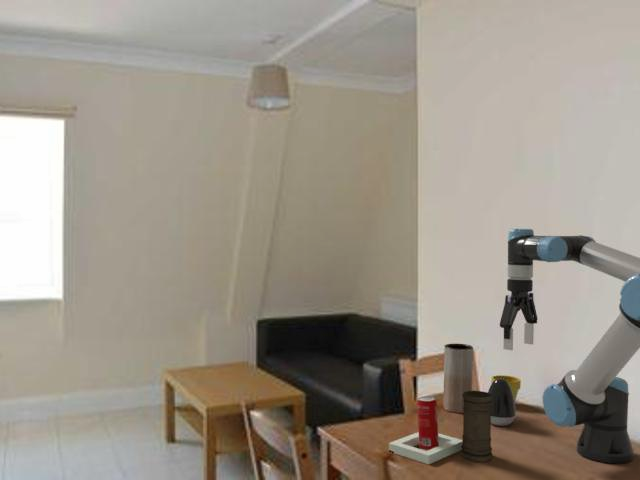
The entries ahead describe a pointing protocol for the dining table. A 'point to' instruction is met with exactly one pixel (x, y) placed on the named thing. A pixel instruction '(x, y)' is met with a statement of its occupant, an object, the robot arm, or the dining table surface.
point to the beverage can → (427, 423)
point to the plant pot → (510, 383)
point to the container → (477, 426)
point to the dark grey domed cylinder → (502, 403)
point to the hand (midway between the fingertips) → (518, 346)
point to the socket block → (408, 450)
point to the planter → (457, 375)
